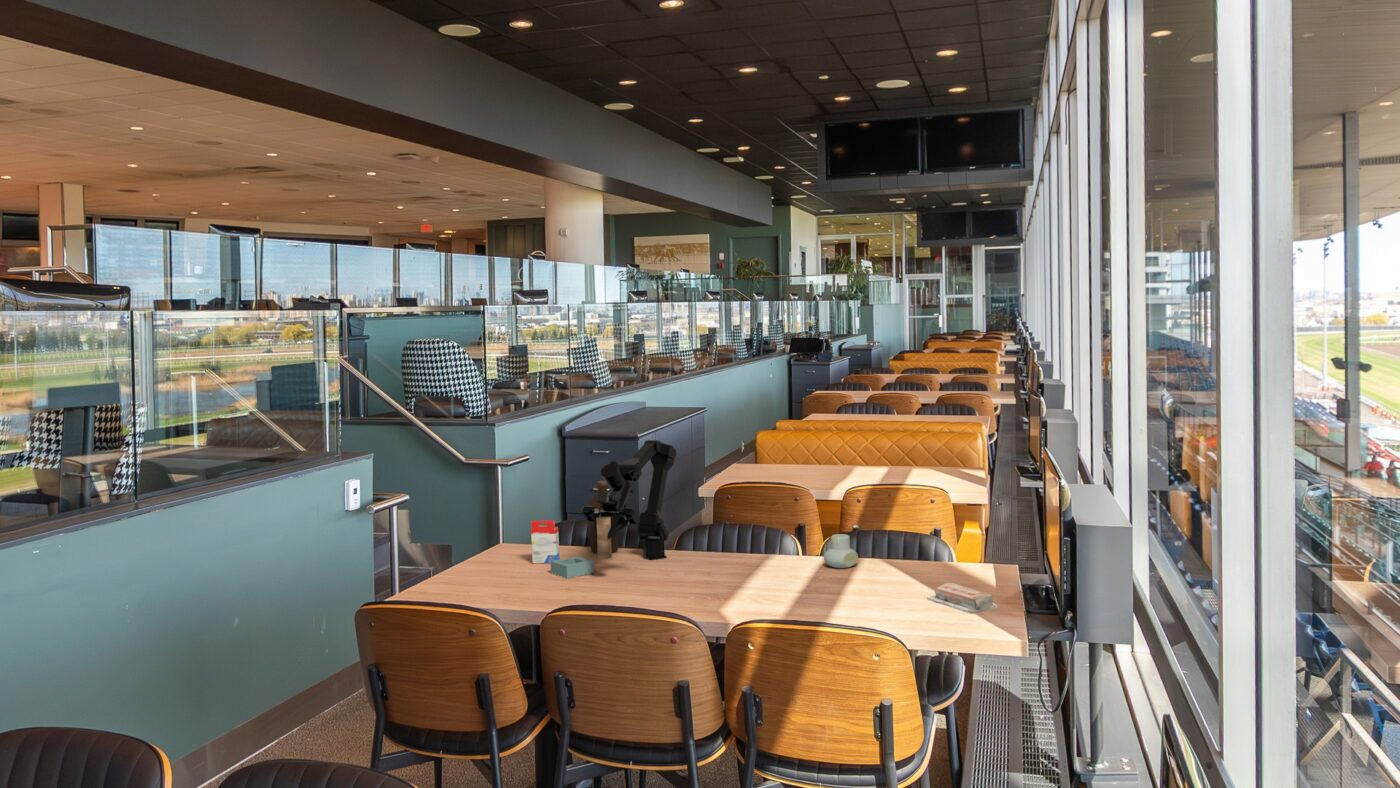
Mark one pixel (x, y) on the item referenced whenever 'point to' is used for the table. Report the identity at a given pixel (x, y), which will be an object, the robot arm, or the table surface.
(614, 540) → the olive oil
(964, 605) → the packaged product
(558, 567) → the socket block
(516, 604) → the table surface
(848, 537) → the pale green rounded piece
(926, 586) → the table surface
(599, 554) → the peg
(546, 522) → the ink box
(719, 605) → the table surface
